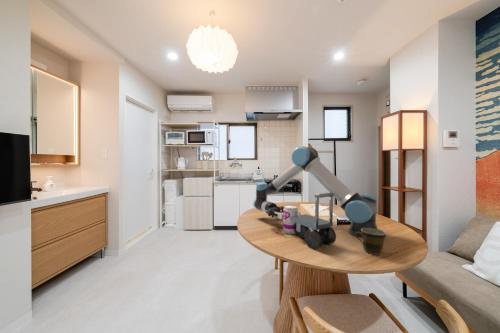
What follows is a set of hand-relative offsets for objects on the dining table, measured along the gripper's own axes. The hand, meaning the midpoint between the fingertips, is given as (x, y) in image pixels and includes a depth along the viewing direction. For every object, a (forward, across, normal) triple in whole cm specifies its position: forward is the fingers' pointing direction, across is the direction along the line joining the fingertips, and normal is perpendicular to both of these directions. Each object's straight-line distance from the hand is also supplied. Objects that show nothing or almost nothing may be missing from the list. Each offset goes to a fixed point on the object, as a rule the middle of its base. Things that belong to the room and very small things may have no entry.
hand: (291, 215), depth 124 cm
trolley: (+15, 0, -10) cm, 18 cm away
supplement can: (-1, 0, -10) cm, 11 cm away
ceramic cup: (+38, -14, -10) cm, 42 cm away
